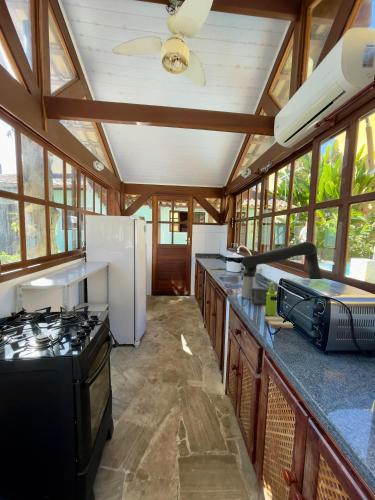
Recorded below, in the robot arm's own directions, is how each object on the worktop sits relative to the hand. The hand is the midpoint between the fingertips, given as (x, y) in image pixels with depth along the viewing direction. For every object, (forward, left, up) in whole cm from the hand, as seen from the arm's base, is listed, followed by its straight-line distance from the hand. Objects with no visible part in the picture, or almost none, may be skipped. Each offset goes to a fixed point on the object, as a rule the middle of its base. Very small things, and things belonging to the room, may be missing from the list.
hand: (268, 296), depth 140 cm
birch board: (+11, -11, -11) cm, 19 cm away
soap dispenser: (+1, +1, -11) cm, 11 cm away
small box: (-14, +16, -11) cm, 24 cm away
